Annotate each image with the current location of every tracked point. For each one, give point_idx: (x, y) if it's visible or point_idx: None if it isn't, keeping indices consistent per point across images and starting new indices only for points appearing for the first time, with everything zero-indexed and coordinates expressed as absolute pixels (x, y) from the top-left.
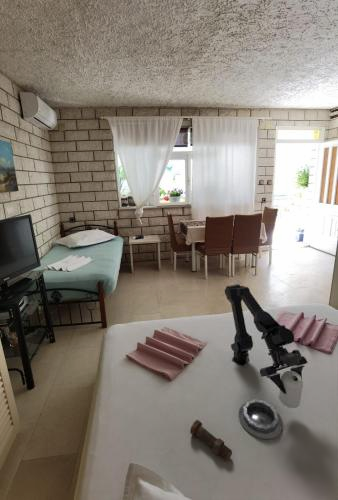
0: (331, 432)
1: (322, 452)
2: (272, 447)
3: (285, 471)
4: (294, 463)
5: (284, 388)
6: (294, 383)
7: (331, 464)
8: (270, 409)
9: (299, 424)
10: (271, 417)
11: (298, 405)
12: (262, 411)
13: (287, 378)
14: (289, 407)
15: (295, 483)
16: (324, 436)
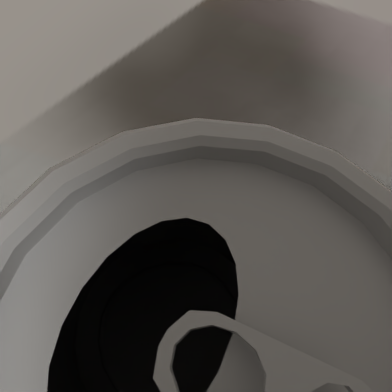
0: (16, 142)
1: (153, 84)
2: (366, 169)
3: (358, 78)
4: (306, 88)
5: None
6: (311, 145)
7: (157, 40)
8: None
9: None
10: None
11: (145, 241)
12: None
13: (382, 384)
14: (212, 272)
15: (342, 39)
16: (75, 137)
